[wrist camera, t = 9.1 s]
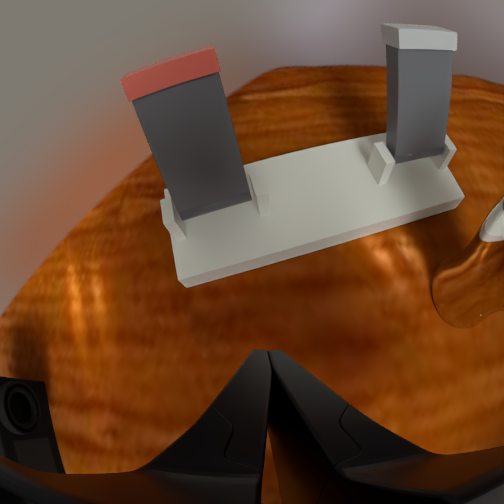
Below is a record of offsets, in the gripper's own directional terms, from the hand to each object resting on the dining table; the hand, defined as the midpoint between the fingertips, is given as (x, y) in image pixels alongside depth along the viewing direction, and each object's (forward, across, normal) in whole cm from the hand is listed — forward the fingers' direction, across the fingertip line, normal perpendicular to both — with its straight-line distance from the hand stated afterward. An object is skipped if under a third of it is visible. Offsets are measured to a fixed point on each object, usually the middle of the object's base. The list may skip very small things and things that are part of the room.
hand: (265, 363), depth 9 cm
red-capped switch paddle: (+14, +3, -3) cm, 15 cm away
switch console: (+18, -6, -4) cm, 19 cm away
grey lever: (+14, -12, -9) cm, 21 cm away
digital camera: (+8, +18, +17) cm, 26 cm away
